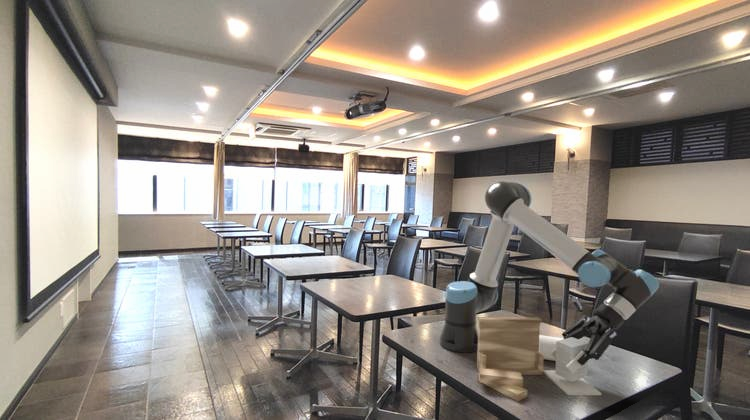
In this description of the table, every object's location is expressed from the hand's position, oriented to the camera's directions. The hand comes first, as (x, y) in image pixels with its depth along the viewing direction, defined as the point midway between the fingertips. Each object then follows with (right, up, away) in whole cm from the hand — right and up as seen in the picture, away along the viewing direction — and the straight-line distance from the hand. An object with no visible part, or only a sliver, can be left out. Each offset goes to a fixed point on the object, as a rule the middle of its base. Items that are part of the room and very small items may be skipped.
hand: (561, 362), depth 111 cm
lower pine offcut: (-20, -7, -4) cm, 21 cm away
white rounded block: (+7, -6, +19) cm, 21 cm away
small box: (+3, -4, 0) cm, 5 cm away
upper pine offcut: (-20, -4, -4) cm, 21 cm away
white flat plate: (+3, -6, 0) cm, 7 cm away
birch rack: (-13, -6, +7) cm, 16 cm away
